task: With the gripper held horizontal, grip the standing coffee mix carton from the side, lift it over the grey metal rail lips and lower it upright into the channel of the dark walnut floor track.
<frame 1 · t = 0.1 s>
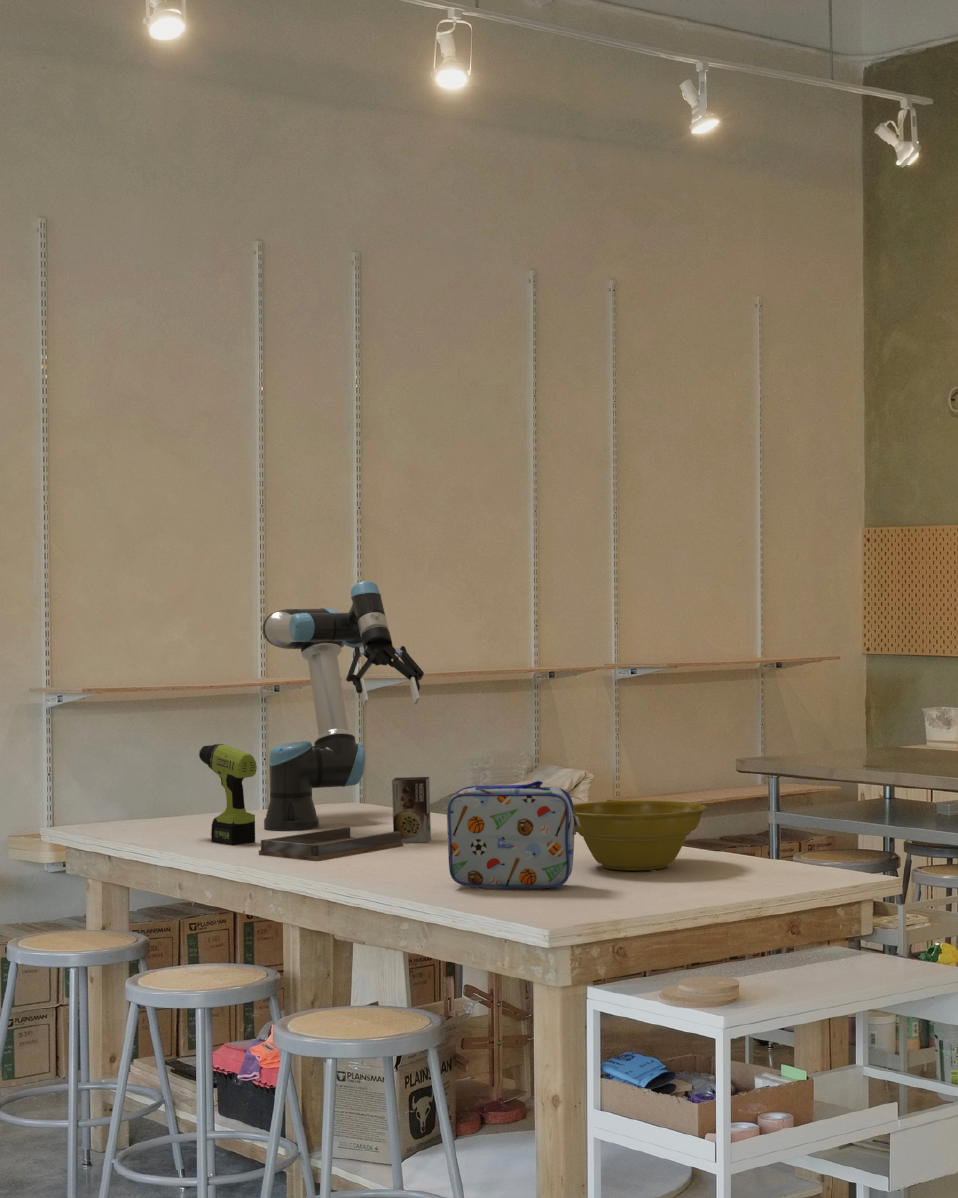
hand: (391, 702, 384), 36 cm above the workbench, tool tilted 35°, fingers open, 13 cm apart
lunch box: (514, 888, 314), on the workbench
track: (331, 850, 375), on the workbench
planter bowl: (634, 868, 338), on the workbench
cordless drill: (224, 841, 397), on the workbench
coffee box: (412, 842, 389), on the workbench
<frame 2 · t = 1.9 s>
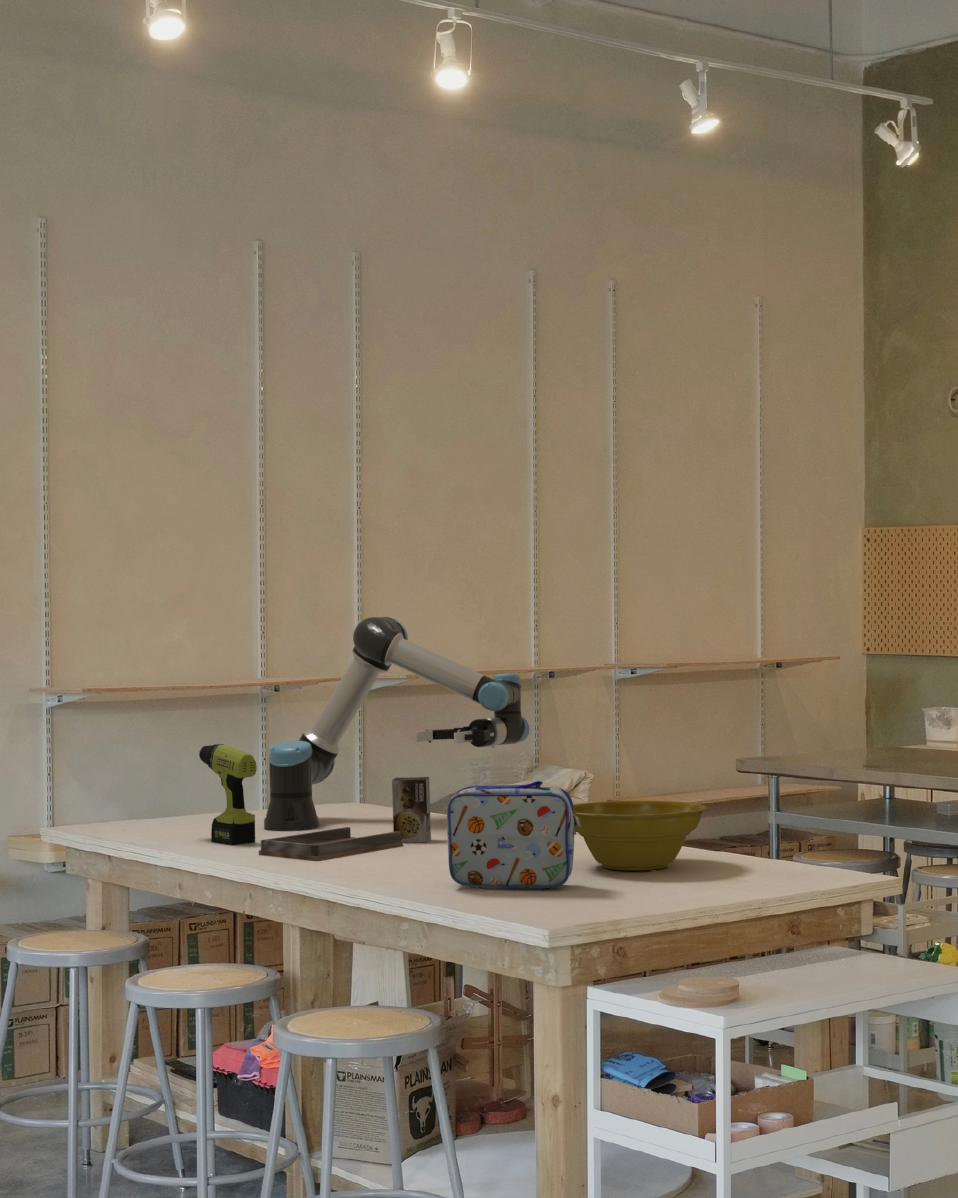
hand: (435, 737, 397), 26 cm above the workbench, tool horizontal, fingers open, 13 cm apart
nothing on the workbench moved.
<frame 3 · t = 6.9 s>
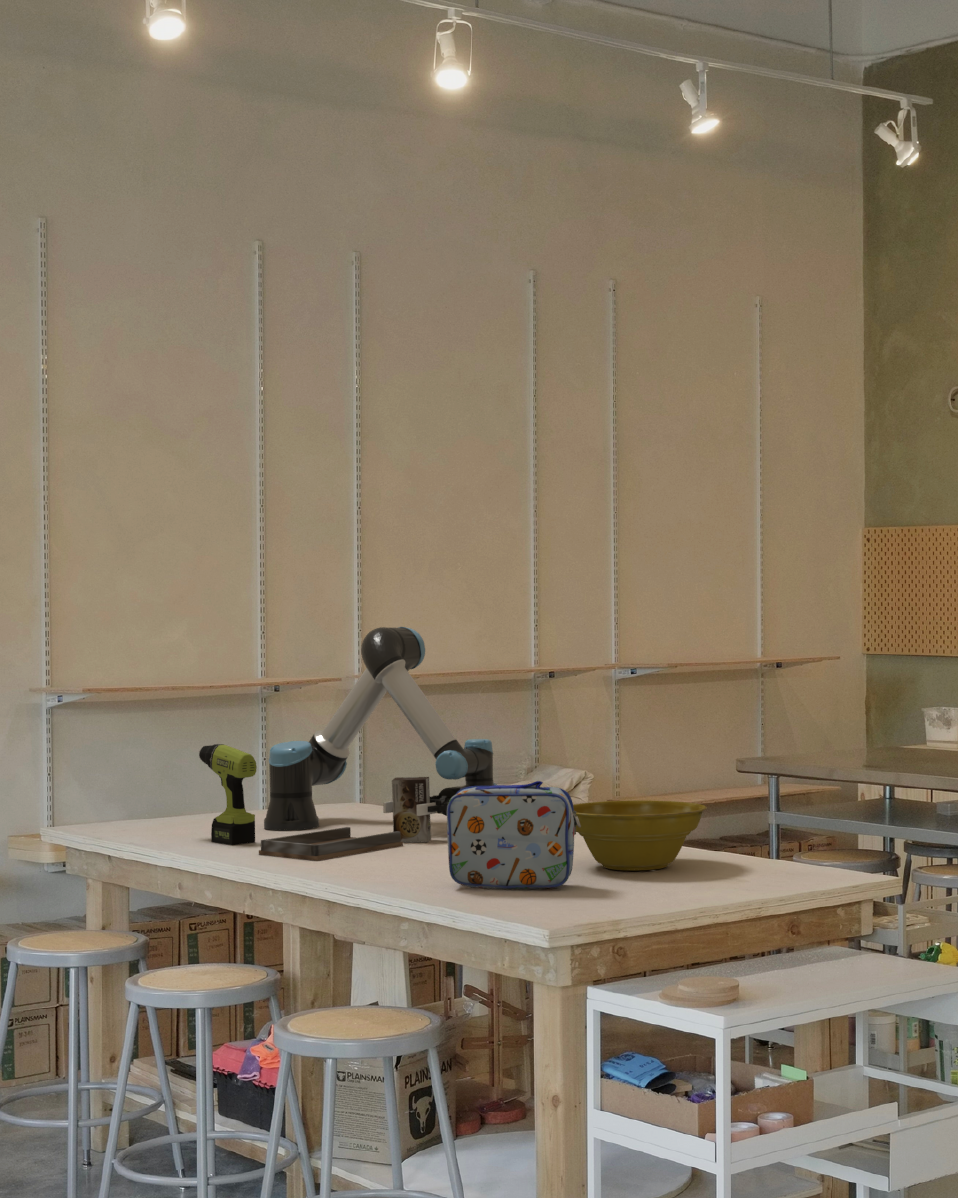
hand: (400, 809, 386), 9 cm above the workbench, tool horizontal, fingers closed on coffee box, 11 cm apart
coffee box: (412, 842, 389), on the workbench, touching gripper
everything else where it was.
when the fingers open (11 cm above the workbench, at t = 14.3 s): coffee box drops 1 cm, resting on track.
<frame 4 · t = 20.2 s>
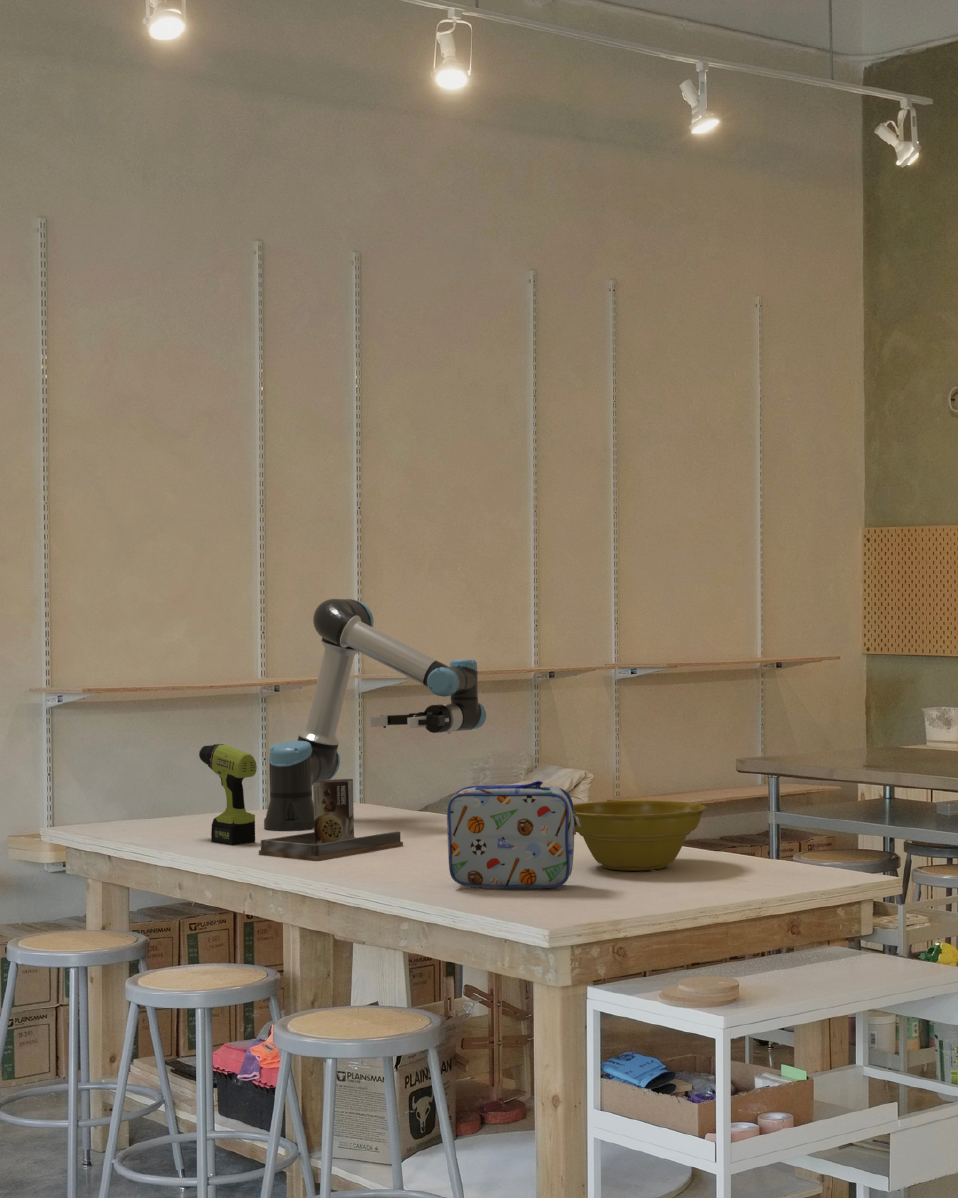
hand: (388, 722, 395), 30 cm above the workbench, tool horizontal, fingers open, 13 cm apart
coffee box: (334, 846, 376), point 1 cm above the workbench, touching track
everything else where it was.
at the end: coffee box inside the target area on the track (1.0 cm from its centre), point 0.8 cm above the track's base; coffee box tilted 0°; the gripper is holding nothing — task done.
